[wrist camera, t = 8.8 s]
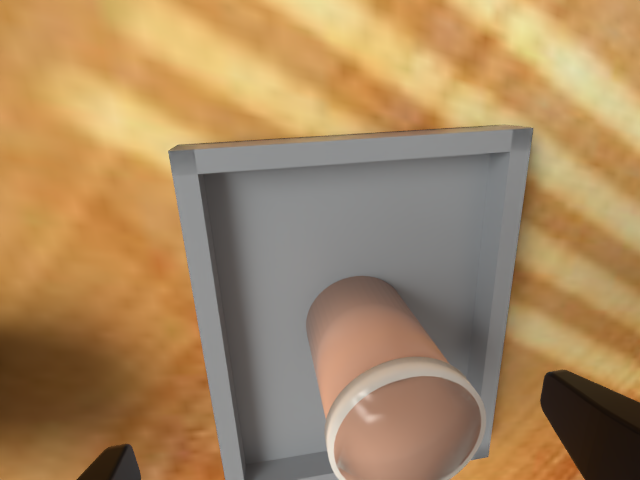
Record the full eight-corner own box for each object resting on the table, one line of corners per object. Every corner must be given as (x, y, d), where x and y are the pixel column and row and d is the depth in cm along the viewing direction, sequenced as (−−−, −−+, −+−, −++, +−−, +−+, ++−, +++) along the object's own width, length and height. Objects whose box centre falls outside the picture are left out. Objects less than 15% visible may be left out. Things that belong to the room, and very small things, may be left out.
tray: (504, 124, 20) (533, 127, 18) (470, 429, 27) (488, 456, 25) (177, 144, 18) (168, 150, 16) (231, 470, 25) (229, 504, 23)
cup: (410, 266, 21) (495, 360, 14) (406, 359, 23) (477, 484, 16) (299, 278, 20) (325, 384, 13) (305, 373, 22) (330, 511, 15)
